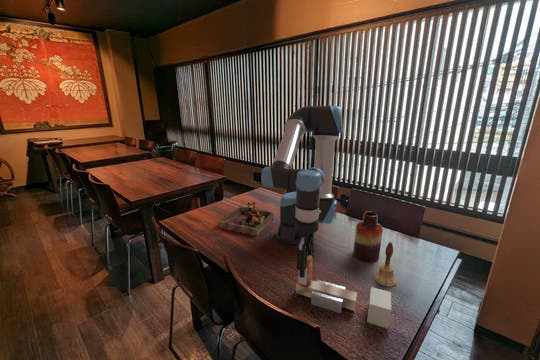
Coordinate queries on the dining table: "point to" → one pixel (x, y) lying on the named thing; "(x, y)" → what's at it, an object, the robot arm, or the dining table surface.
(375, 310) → the white upright block
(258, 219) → the bear figurine
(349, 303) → the sliding bolt with handle
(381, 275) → the hand bell
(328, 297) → the sleeve
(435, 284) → the dining table surface
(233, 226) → the shallow square tray
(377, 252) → the vase
